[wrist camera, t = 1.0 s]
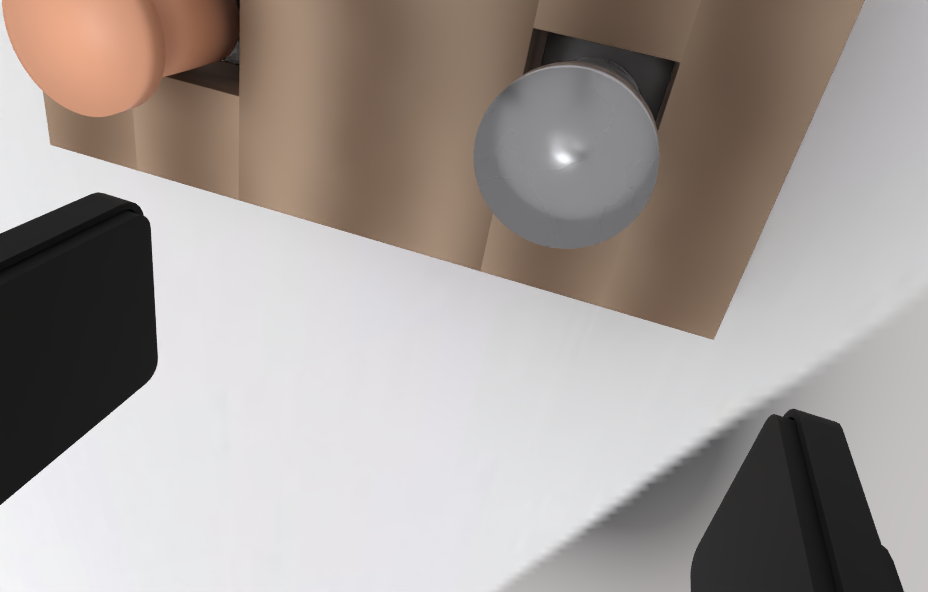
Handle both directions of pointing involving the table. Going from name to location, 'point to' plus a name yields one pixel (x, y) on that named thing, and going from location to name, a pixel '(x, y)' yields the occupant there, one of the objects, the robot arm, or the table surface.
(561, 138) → the grey plunger
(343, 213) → the button board
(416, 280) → the table surface
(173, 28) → the terracotta plunger
